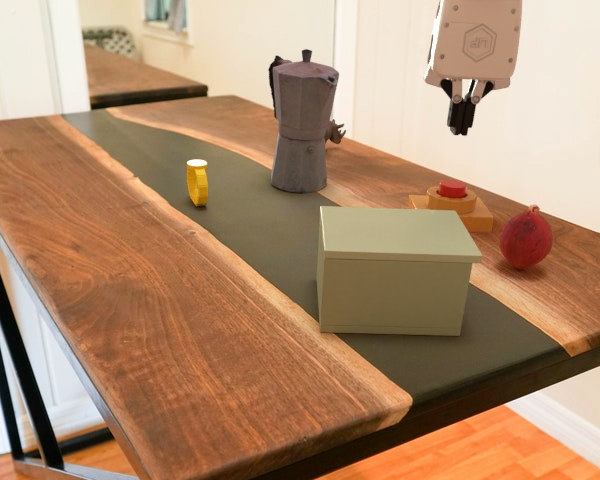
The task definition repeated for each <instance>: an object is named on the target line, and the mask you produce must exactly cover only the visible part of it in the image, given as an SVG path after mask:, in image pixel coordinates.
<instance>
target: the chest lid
mask: <svg viewBox="0 0 600 480" xmlns="http://www.w3.org/2000/svg"><path fill="white" fill-rule="evenodd" d="M320 218H321V228H322V238H323V249H324V258H332V259H363V260H393V261H424V262H455V263H472V264H482V262H483V254H482V252H481V250H480V249H479V248H478V246H477V244H476V242H475V240H474V239H473V237H472V235H471V234H470V232H468V231H467V229H466V228H465V226H464V224H463V223H462V221H461V219H460V218H459V216H458V214H457V213H456V211H452V210H423V209H408V208H393V207H392V208H388V207H363V206H362V207H360V206H335V205H320V207H319V219H320Z"/></svg>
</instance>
